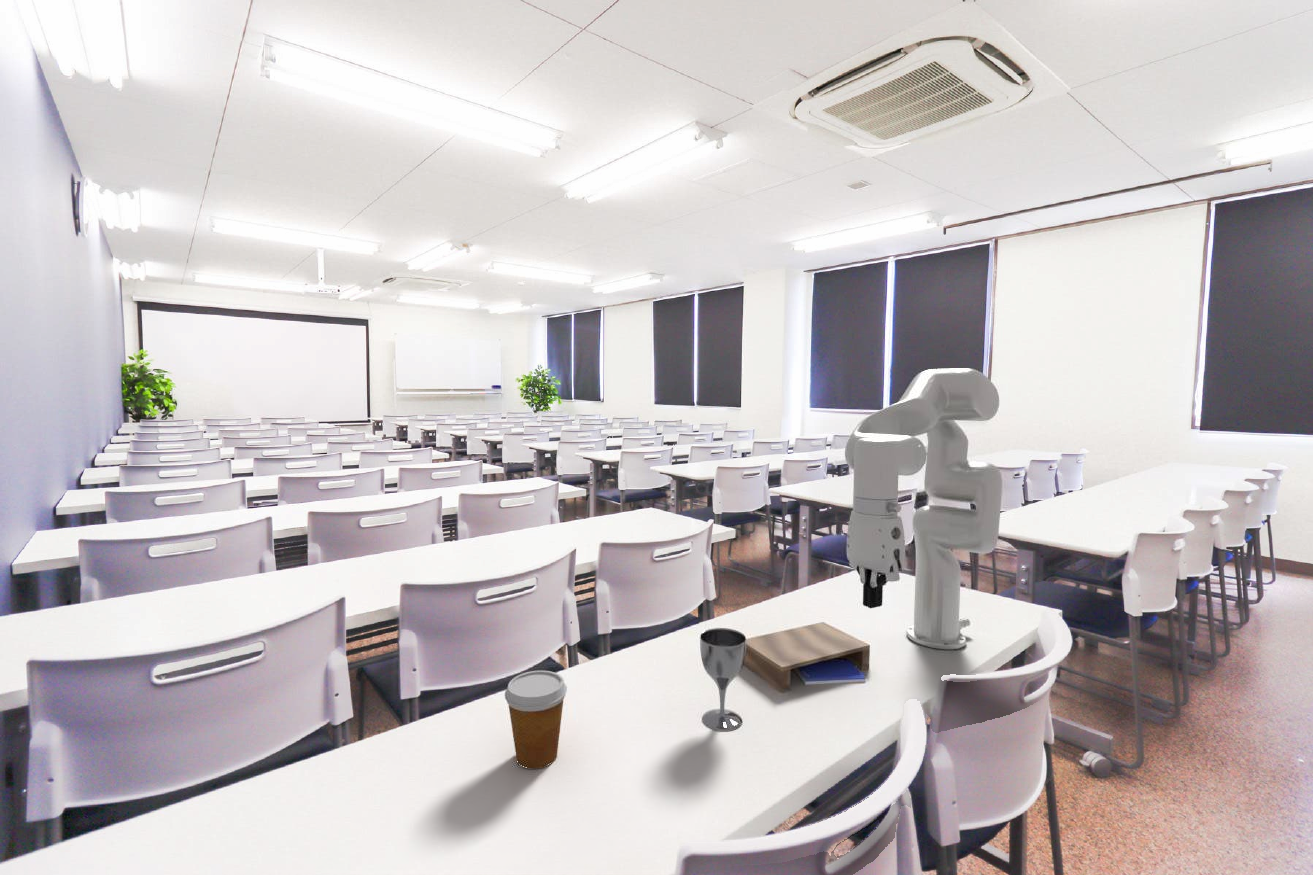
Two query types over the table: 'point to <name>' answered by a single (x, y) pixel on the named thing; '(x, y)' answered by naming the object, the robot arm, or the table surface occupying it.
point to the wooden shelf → (801, 651)
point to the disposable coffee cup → (536, 716)
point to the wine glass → (722, 671)
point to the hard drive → (830, 672)
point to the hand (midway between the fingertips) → (872, 605)
